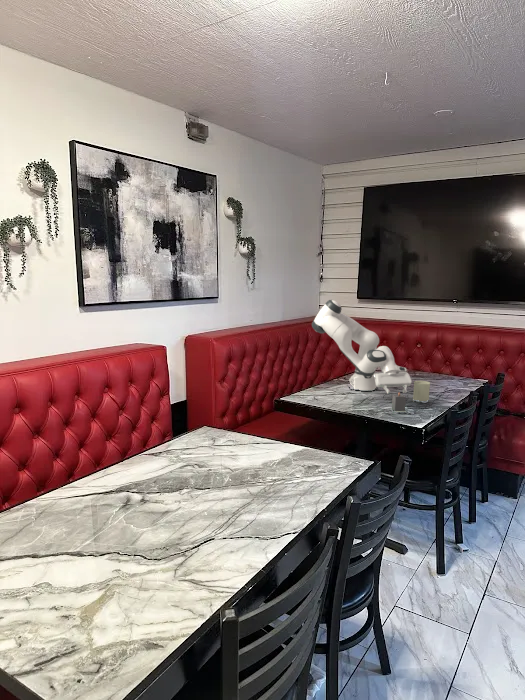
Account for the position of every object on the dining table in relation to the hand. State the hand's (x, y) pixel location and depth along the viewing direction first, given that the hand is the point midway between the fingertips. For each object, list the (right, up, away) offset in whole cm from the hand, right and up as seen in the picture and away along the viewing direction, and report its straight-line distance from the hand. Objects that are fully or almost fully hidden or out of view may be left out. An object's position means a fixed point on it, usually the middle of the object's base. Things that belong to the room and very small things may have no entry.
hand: (397, 392), depth 252 cm
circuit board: (-1, -10, +1) cm, 10 cm away
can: (+20, -7, +20) cm, 29 cm away
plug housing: (0, -9, -4) cm, 10 cm away
